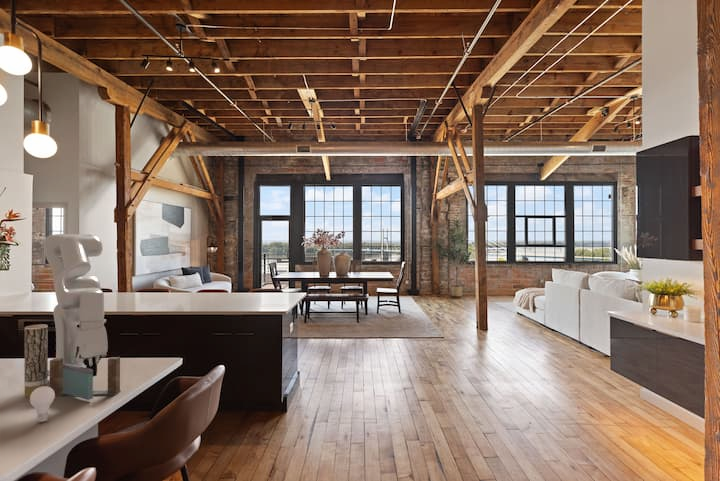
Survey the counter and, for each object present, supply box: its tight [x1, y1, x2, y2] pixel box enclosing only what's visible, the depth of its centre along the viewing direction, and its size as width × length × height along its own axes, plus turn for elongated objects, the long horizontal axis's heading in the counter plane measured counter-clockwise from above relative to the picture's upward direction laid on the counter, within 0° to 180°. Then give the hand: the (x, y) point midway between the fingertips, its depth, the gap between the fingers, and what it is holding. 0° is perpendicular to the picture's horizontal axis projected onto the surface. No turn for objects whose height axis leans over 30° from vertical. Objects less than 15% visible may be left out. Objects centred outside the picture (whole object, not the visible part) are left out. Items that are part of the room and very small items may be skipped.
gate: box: [63, 364, 94, 401], centre depth 159 cm, size 16×2×10 cm, turn 63°
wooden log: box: [23, 323, 49, 399], centre depth 162 cm, size 7×7×25 cm
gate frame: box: [49, 356, 122, 398], centre depth 163 cm, size 23×4×13 cm, turn 96°
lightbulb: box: [29, 386, 56, 424], centre depth 138 cm, size 6×6×11 cm
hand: (91, 375), depth 160 cm, fingers closed
